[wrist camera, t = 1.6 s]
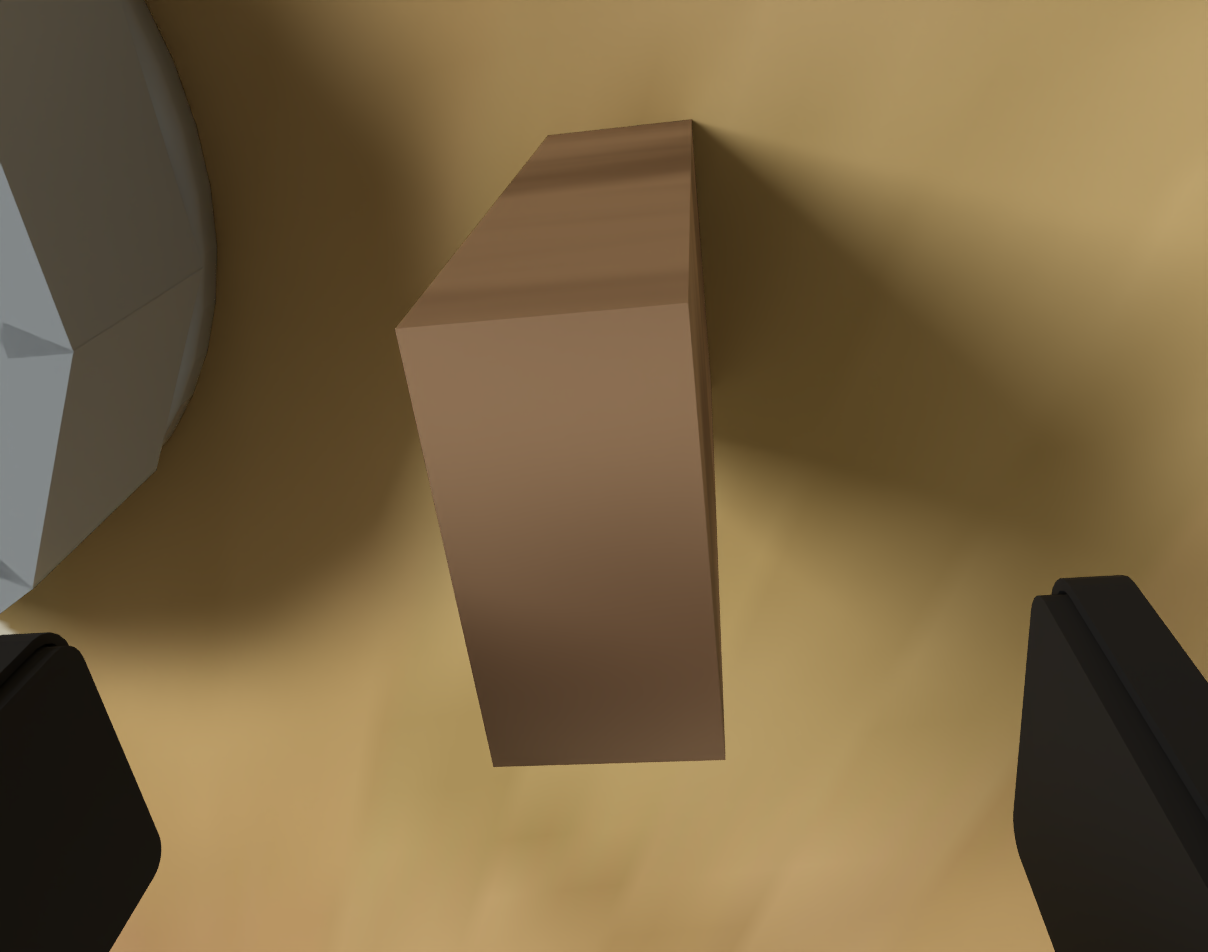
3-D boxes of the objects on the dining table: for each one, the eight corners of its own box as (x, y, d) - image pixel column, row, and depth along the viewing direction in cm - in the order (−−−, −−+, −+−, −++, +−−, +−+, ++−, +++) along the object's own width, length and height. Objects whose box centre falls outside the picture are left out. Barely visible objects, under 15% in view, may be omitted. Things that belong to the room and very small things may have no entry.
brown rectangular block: (547, 135, 21) (395, 329, 10) (691, 119, 20) (688, 302, 10) (584, 398, 23) (493, 767, 13) (711, 389, 23) (726, 759, 13)
